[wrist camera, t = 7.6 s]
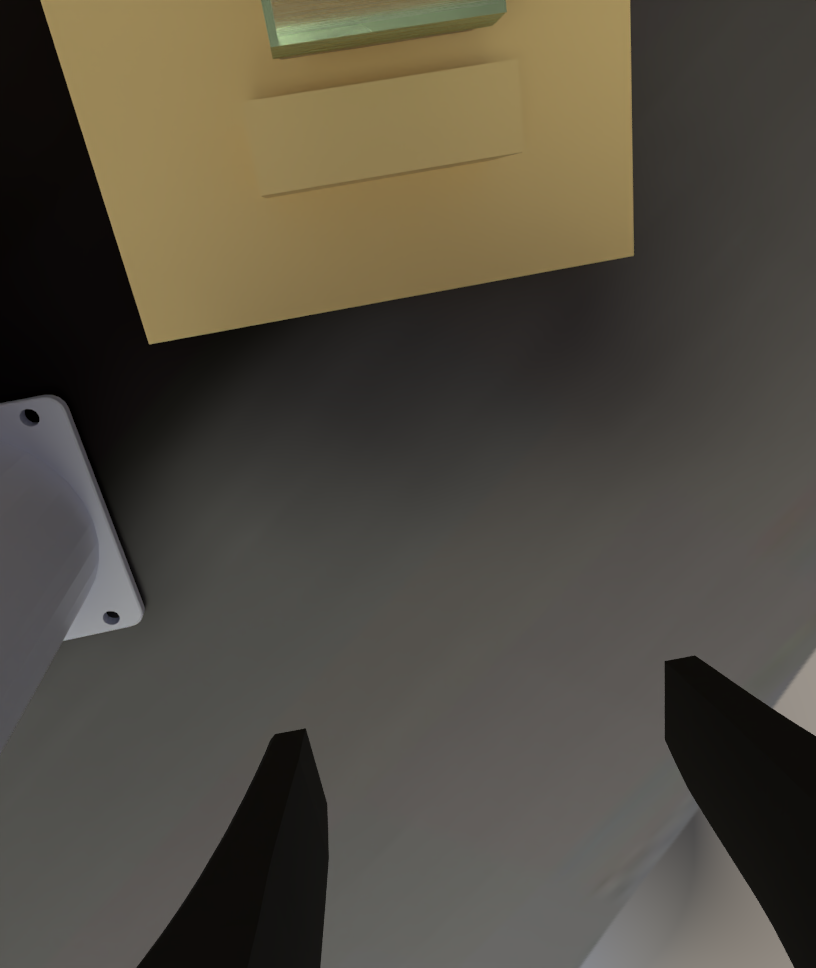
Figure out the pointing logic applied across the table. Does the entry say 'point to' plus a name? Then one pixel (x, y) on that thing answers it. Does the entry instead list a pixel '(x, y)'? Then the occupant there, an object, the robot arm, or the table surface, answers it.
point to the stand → (346, 155)
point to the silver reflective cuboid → (368, 22)
